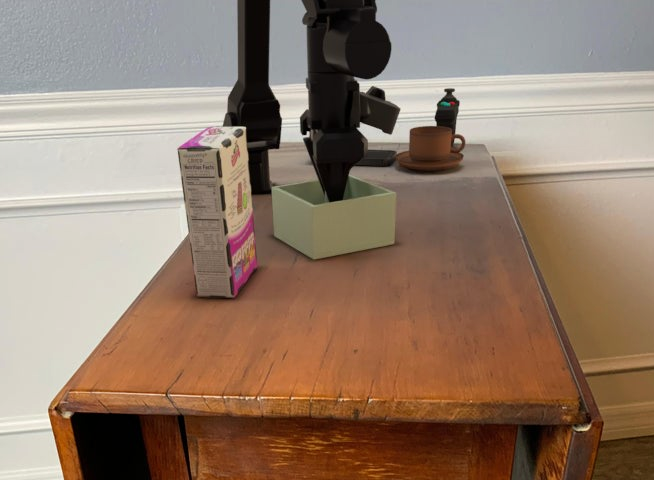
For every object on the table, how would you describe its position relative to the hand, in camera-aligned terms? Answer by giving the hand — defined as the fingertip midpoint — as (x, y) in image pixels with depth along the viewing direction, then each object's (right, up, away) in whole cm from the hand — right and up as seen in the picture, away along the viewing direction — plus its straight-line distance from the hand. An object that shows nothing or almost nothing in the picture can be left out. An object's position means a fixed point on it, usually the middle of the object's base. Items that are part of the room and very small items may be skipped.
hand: (332, 202), depth 106 cm
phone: (+6, +24, +43) cm, 49 cm away
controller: (+24, +29, +48) cm, 61 cm away
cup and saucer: (+19, +20, +36) cm, 45 cm away
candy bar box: (-13, -14, -10) cm, 21 cm away
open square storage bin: (0, -4, +3) cm, 5 cm away
